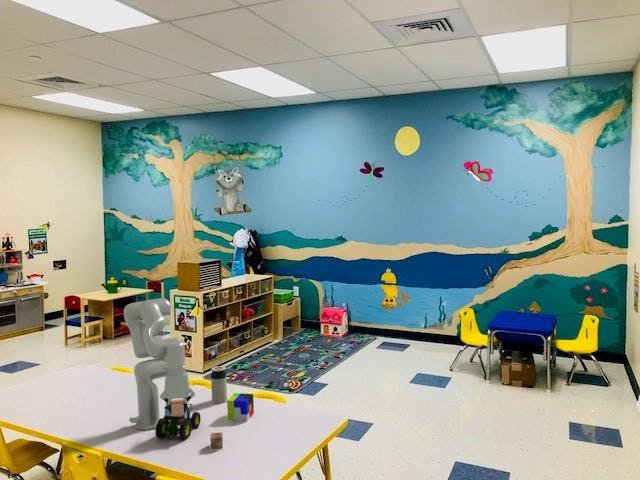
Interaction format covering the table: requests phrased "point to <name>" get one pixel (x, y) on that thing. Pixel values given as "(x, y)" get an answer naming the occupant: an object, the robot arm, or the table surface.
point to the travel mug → (219, 384)
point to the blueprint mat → (216, 449)
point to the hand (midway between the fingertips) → (178, 411)
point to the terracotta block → (177, 407)
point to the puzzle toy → (240, 407)
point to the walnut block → (216, 440)
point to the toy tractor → (177, 424)
